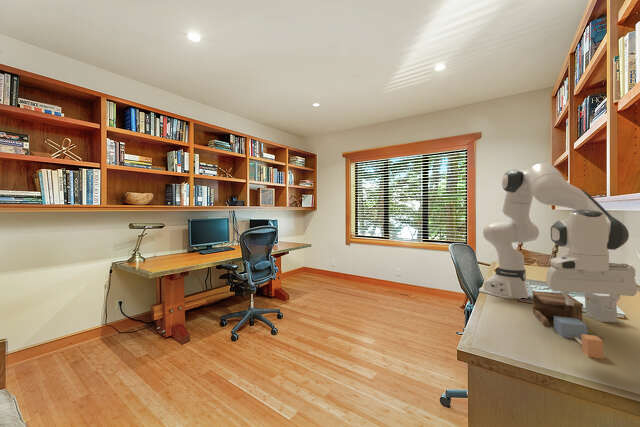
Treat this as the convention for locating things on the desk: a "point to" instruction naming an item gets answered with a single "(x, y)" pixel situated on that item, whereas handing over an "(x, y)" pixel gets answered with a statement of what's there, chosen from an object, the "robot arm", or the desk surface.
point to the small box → (599, 307)
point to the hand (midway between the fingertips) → (589, 306)
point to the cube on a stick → (579, 335)
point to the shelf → (554, 306)
